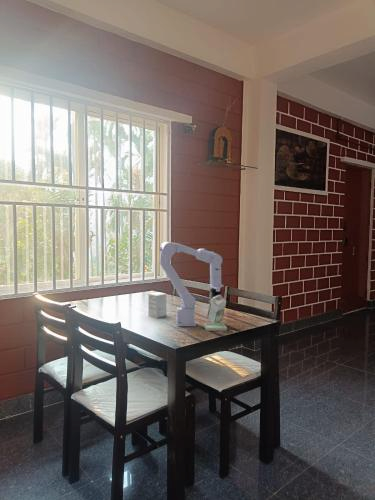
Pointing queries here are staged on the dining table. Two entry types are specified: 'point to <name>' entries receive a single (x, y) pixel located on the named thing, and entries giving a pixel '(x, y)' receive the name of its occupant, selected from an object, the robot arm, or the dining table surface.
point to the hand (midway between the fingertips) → (216, 302)
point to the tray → (215, 326)
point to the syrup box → (216, 309)
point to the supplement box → (157, 304)
